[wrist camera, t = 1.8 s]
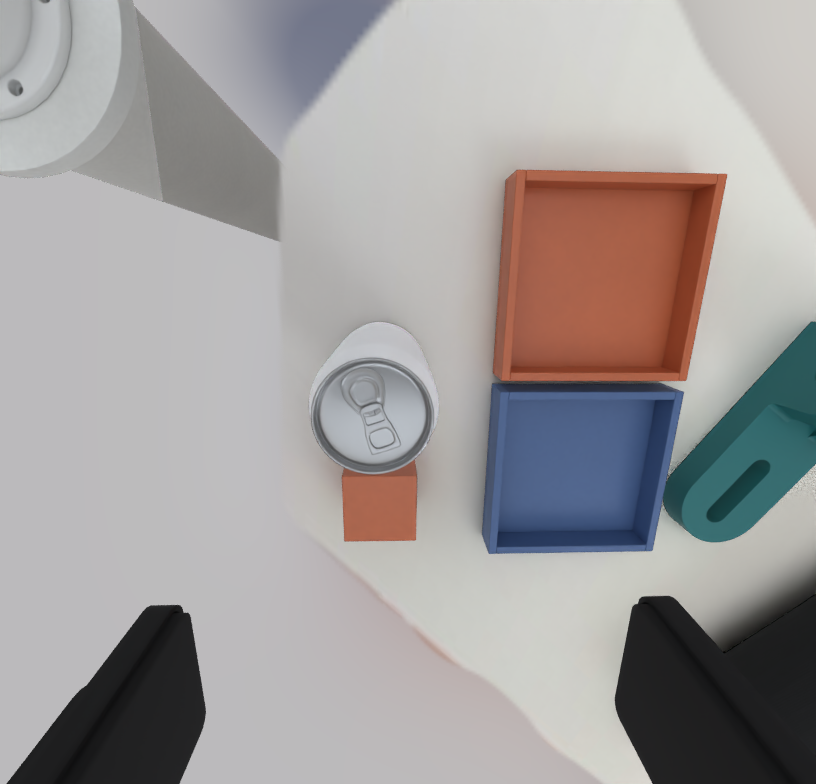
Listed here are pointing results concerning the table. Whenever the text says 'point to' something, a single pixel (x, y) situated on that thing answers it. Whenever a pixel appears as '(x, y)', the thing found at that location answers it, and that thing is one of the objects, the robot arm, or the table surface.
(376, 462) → the can
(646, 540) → the blue tray
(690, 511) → the bracket
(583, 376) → the terracotta tray
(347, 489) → the block
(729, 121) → the table surface
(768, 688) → the portable speaker
